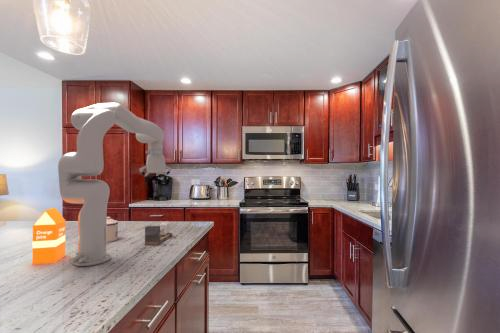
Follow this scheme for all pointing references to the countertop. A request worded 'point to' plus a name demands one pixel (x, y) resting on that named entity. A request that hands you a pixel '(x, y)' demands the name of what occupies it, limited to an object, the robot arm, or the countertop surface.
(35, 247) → the orange juice
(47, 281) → the countertop surface
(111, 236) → the teacup with lid
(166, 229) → the gauge slider
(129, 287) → the countertop surface
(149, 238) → the gauge base
